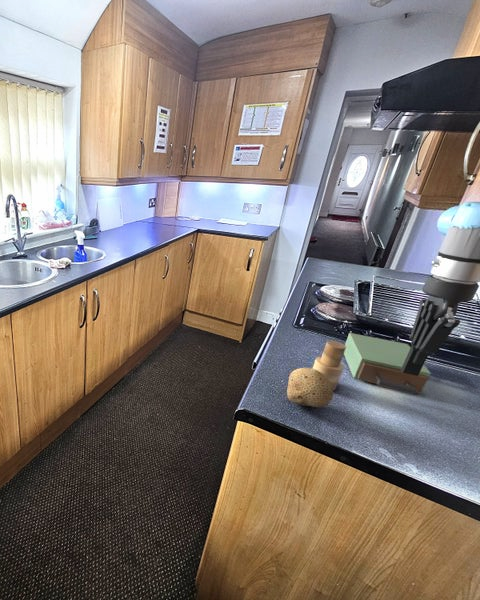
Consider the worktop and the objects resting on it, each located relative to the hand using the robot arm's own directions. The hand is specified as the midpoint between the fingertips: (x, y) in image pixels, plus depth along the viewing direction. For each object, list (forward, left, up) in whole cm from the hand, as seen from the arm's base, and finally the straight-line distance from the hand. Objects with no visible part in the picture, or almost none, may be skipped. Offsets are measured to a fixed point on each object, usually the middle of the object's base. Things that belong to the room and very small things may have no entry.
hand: (409, 372), depth 77 cm
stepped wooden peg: (+15, 0, -9) cm, 18 cm away
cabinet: (0, -16, -9) cm, 18 cm away
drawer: (0, -12, -8) cm, 14 cm away
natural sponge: (+20, +12, -9) cm, 25 cm away
